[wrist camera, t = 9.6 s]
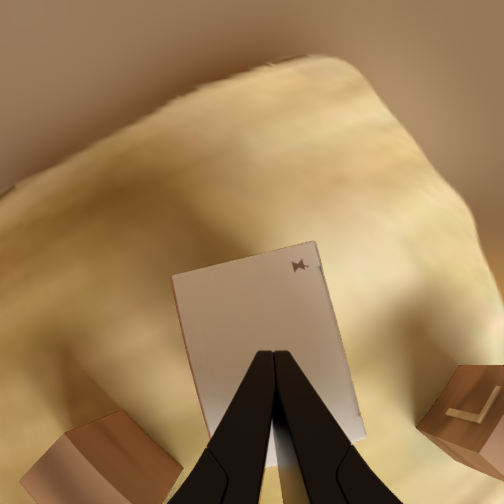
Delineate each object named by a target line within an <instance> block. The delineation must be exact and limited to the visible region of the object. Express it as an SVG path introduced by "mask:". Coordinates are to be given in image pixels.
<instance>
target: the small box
mask: <svg viewBox="0 0 504 504" xmlns="http://www.w3.org/2000/svg"><path fill="white" fill-rule="evenodd" d="M170 279H171V283H172V288H173V293H174V298H175V303H176V308H177V312H178V317H179V322H180V326H181V330H182V335H183V339H184V343H185V348H186V352H187V356H188V360H189V364H190V368H191V372H192V376H193V380H194V384H195V387H196V391H197V395H198V399H199V402H200V406H201V409H202V413H203V416H204V420H205V423H206V427H207V430H208V433H209V437H210V439H211V437H212V436H213V434H214V432H215V430H216V428H217V426H218V425H219V423H220V421H221V419H222V417H223V415H224V414H225V412H226V410H227V408H228V406H229V404H230V402H231V400H232V399H233V397H234V395H235V393H236V391H237V389H238V387H239V385H240V383H241V381H242V380H243V378H244V376H245V374H246V372H247V370H248V368H249V366H250V364H251V362H252V360H253V358H254V356H255V354H256V352H257V351H258V350H271V351H273V352H274V351H275V350H288V351H289V352H290V353H291V354H292V356H293V357H294V359H295V360H296V362H297V363H298V365H299V366H300V368H301V369H302V371H303V372H304V374H305V375H306V377H307V378H308V380H309V381H310V383H311V384H312V386H313V387H314V389H315V390H316V392H317V393H318V395H319V396H320V397H321V399H322V400H323V402H324V403H325V405H326V406H327V408H328V409H329V411H330V412H331V414H332V415H333V417H334V418H335V419H336V421H337V422H338V424H339V425H340V427H341V428H342V430H343V431H344V433H345V434H346V435H347V437H348V438H349V440H350V441H351V444H352V443H354V442H357V441H360V440H363V439H365V437H366V436H367V434H366V430H365V427H364V423H363V419H362V416H361V412H360V409H359V405H358V401H357V397H356V393H355V389H354V385H353V381H352V377H351V373H350V369H349V365H348V361H347V358H346V354H345V350H344V346H343V343H342V339H341V335H340V331H339V327H338V324H337V320H336V316H335V313H334V309H333V305H332V302H331V299H330V295H329V291H328V287H327V283H326V280H325V276H324V272H323V268H322V263H321V259H320V256H319V252H318V248H317V244H316V242H315V241H309V242H305V243H302V244H298V245H293V246H289V247H285V248H281V249H277V250H273V251H269V252H265V253H261V254H257V255H253V256H249V257H245V258H241V259H237V260H233V261H229V262H225V263H220V264H216V265H212V266H208V267H204V268H200V269H196V270H192V271H188V272H183V273H179V274H174V275H173V276H171V278H170ZM277 465H278V464H277V457H276V450H275V443H274V437H273V429H272V424H271V432H270V439H269V446H268V453H267V460H266V467H265V468H268V467H273V466H277Z"/></svg>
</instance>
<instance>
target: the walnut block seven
mask: <svg viewBox="0 0 504 504" xmlns="http://www.w3.org/2000/svg"><path fill="white" fill-rule="evenodd" d="M416 429H417V430H419V431H420V432H421V433H422V434H424V435H425V436H426V437H427V438H428V439H430V440H431V441H432V442H433V443H434V444H436V445H437V446H438V447H439V448H440V449H442V450H443V451H444V452H445V453H447V454H448V455H449V456H450V457H452V458H453V459H454V460H455V461H457V462H460V463H462V464H464V465H466V466H469V467H471V468H473V469H475V470H478V471H480V472H482V473H485V474H487V475H489V476H492V477H494V478H497V479H499V480H502V481H504V365H459V367H458V368H457V370H456V372H455V373H454V375H453V376H452V378H451V380H450V381H449V383H448V384H447V386H446V387H445V389H444V390H443V392H442V393H441V395H440V396H439V398H438V399H437V400H436V402H435V403H434V405H433V406H432V408H431V409H430V410H429V412H428V413H427V414H426V416H425V417H424V418H423V420H422V421H421V422H420V424H419V425H418V426H417V428H416Z"/></svg>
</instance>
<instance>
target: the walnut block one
mask: <svg viewBox="0 0 504 504" xmlns="http://www.w3.org/2000/svg"><path fill="white" fill-rule="evenodd" d="M182 470H183V467H182V466H181V465H180V464H178V463H177V462H176V461H175V460H174V459H173V458H172V457H170V456H169V455H168V454H167V453H166V452H165V451H164V450H163V449H162V448H161V447H159V446H158V445H157V444H156V443H155V442H154V441H153V440H152V439H151V438H150V437H149V436H148V435H147V434H146V433H145V432H144V431H143V430H142V429H141V428H140V427H139V426H138V425H137V424H136V423H135V422H134V421H133V420H132V419H131V418H130V417H129V416H128V415H127V414H126V413H125V412H124V410H123V409H122V410H119V411H117V412H115V413H112V414H110V415H108V416H105V417H103V418H101V419H98V420H96V421H93V422H91V423H88V424H86V425H83V426H81V427H78V428H76V429H73V430H71V431H68V432H65V433H63V434H62V435H61V437H60V438H59V439H58V440H57V441H56V442H55V443H54V444H53V445H52V446H51V447H50V448H49V449H48V450H47V451H46V453H45V454H44V455H43V456H42V457H41V458H40V459H39V460H38V461H37V462H36V463H35V464H34V465H33V467H32V468H31V469H30V470H29V471H28V472H27V473H26V474H25V475H24V476H23V477H22V478H21V480H20V481H19V482H20V483H21V485H22V486H23V487H24V488H25V490H26V491H27V492H28V493H29V494H30V496H31V497H32V498H33V499H34V500H35V501H36V502H37V504H162V503H163V501H164V499H165V498H166V496H167V494H168V493H169V491H170V490H171V488H172V486H173V485H174V483H175V481H176V480H177V478H178V476H179V475H180V473H181V471H182Z"/></svg>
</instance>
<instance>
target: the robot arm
mask: <svg viewBox="0 0 504 504" xmlns="http://www.w3.org/2000/svg"><path fill="white" fill-rule="evenodd" d="M271 424H272V429H273V437H274V443H275V450H276V457H277V464H278V471H279V477H280V484H281V491H282V498H283V504H403V503H402V502H401V501H400V500H399V499H398V498H397V497H396V496H395V495H394V494H393V493H392V492H391V491H390V490H389V489H388V488H387V486H386V485H385V484H384V483H383V482H382V481H381V480H380V479H379V478H378V477H377V475H376V474H375V473H374V472H373V471H372V470H371V468H370V467H369V466H368V465H367V463H366V462H365V461H364V459H363V458H362V457H361V455H360V454H359V452H358V451H357V450H356V448H355V447H354V445H351V441H350V440H349V438H348V437H347V435H346V434H345V433H344V431H343V430H342V428H341V427H340V425H339V424H338V422H337V421H336V419H335V418H334V417H333V415H332V414H331V412H330V411H329V409H328V408H327V406H326V405H325V403H324V402H323V400H322V399H321V397H320V396H319V395H318V393H317V392H316V390H315V389H314V387H313V386H312V384H311V383H310V381H309V380H308V378H307V377H306V375H305V374H304V372H303V371H302V369H301V368H300V366H299V365H298V363H297V362H296V360H295V359H294V357H293V356H292V354H291V353H290V352H289V351H288V350H275V351H274V352H273V351H271V350H258V351H257V352H256V354H255V356H254V358H253V360H252V362H251V364H250V366H249V368H248V370H247V372H246V374H245V376H244V378H243V380H242V381H241V383H240V385H239V387H238V389H237V391H236V393H235V395H234V397H233V399H232V400H231V402H230V404H229V406H228V408H227V410H226V412H225V414H224V415H223V417H222V419H221V421H220V423H219V425H218V426H217V428H216V430H215V432H214V434H213V436H212V437H211V439H210V441H209V443H208V445H207V448H205V450H204V451H203V453H202V455H201V457H200V458H199V460H198V462H197V463H196V465H195V467H194V468H193V470H192V471H191V473H190V474H189V476H188V477H187V479H186V480H185V481H184V483H183V484H182V485H181V487H180V488H179V489H178V491H177V492H176V493H175V494H174V496H173V497H172V498H171V499H170V500H169V502H168V503H167V504H260V499H261V492H262V486H263V480H264V473H265V467H266V460H267V453H268V446H269V439H270V432H271Z"/></svg>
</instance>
